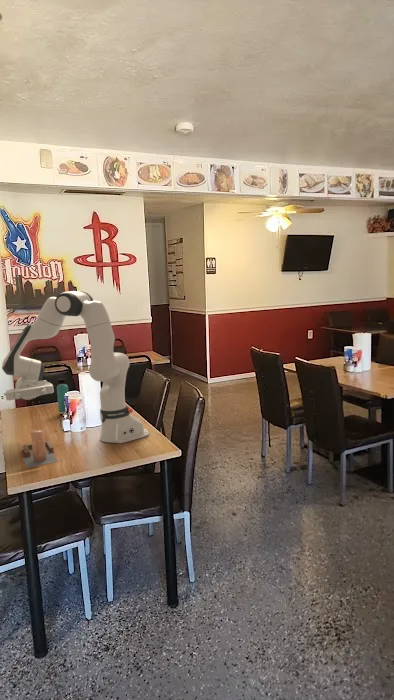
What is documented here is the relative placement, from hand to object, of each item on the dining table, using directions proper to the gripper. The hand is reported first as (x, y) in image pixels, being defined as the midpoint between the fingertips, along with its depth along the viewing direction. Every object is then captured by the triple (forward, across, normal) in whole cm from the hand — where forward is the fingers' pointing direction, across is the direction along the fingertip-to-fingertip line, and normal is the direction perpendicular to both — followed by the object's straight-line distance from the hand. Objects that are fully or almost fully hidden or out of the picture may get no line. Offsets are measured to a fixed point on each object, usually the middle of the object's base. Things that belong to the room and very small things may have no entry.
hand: (31, 394), depth 200 cm
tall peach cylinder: (+16, -2, +25) cm, 29 cm away
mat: (+14, -2, +25) cm, 29 cm away
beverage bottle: (-54, +22, +24) cm, 64 cm away
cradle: (+2, -1, +25) cm, 25 cm away
